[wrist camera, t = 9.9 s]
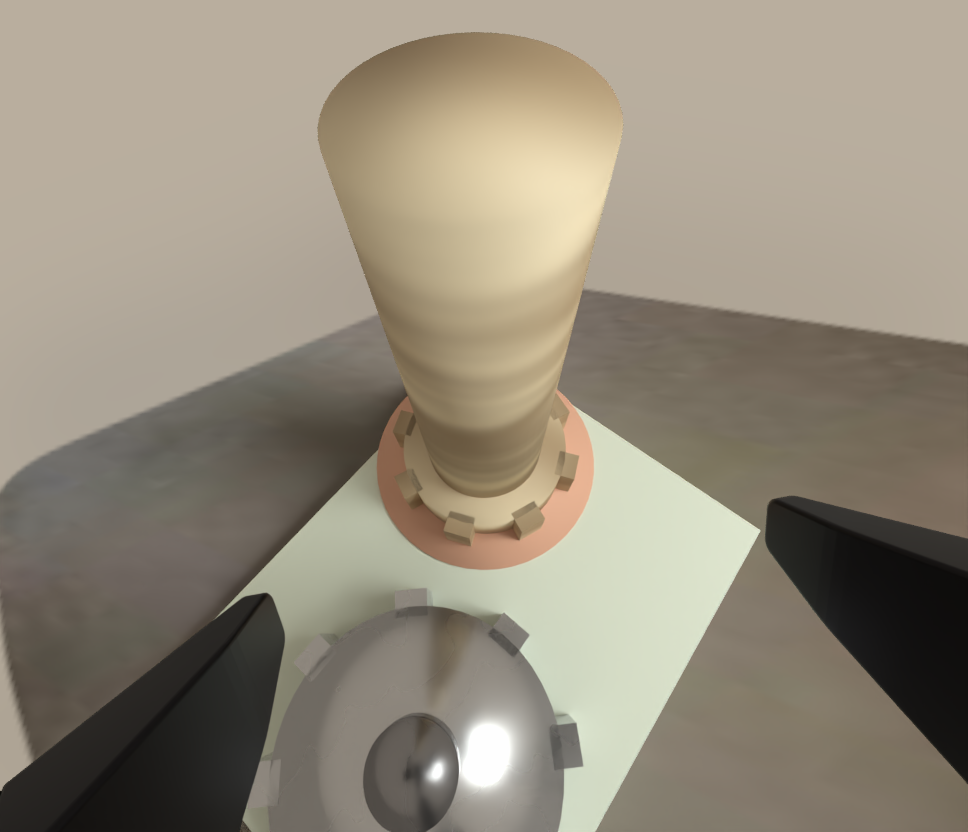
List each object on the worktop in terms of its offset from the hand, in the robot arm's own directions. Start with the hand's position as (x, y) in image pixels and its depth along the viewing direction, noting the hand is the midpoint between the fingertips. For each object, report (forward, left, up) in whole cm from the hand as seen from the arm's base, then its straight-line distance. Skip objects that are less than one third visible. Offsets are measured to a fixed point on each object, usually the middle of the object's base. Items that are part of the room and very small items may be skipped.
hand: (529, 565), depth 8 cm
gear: (-5, -1, -8) cm, 10 cm away
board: (-1, +1, -9) cm, 10 cm away
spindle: (+3, +4, -8) cm, 10 cm away
